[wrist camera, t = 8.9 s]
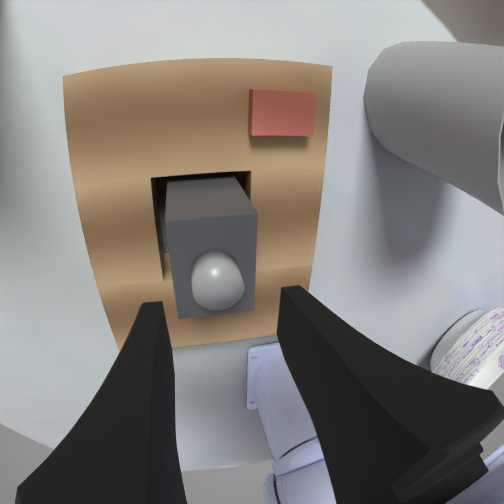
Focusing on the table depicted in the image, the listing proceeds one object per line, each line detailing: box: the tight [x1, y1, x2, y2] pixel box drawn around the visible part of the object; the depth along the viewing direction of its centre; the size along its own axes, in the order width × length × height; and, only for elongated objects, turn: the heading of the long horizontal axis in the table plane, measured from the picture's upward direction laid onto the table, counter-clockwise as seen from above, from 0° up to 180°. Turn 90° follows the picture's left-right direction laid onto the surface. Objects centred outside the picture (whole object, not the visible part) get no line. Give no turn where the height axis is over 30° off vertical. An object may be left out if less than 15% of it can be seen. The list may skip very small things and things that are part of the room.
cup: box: [363, 41, 504, 216], centre depth 13 cm, size 8×8×10 cm
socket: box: [63, 58, 332, 351], centre depth 16 cm, size 16×12×4 cm
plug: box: [165, 172, 258, 319], centre depth 14 cm, size 4×3×8 cm
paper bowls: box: [430, 306, 504, 390], centre depth 31 cm, size 15×15×8 cm
